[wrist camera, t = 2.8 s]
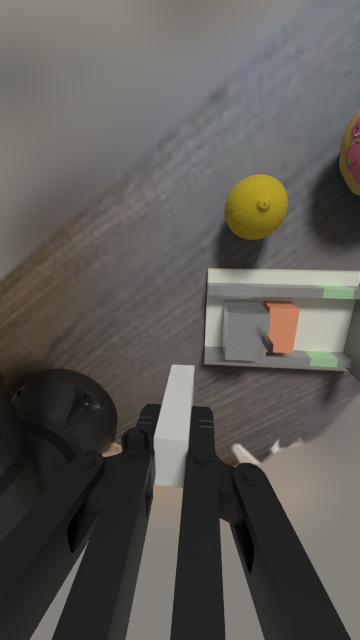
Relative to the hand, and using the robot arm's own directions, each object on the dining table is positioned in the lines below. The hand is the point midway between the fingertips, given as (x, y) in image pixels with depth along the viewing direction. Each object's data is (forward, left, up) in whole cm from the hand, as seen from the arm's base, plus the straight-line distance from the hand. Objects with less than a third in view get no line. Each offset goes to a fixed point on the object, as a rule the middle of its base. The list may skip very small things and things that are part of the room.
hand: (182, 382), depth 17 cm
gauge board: (+11, 0, -15) cm, 19 cm away
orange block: (+10, 0, -14) cm, 17 cm away
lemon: (+6, +12, -15) cm, 20 cm away
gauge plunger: (+6, 0, -14) cm, 15 cm away
